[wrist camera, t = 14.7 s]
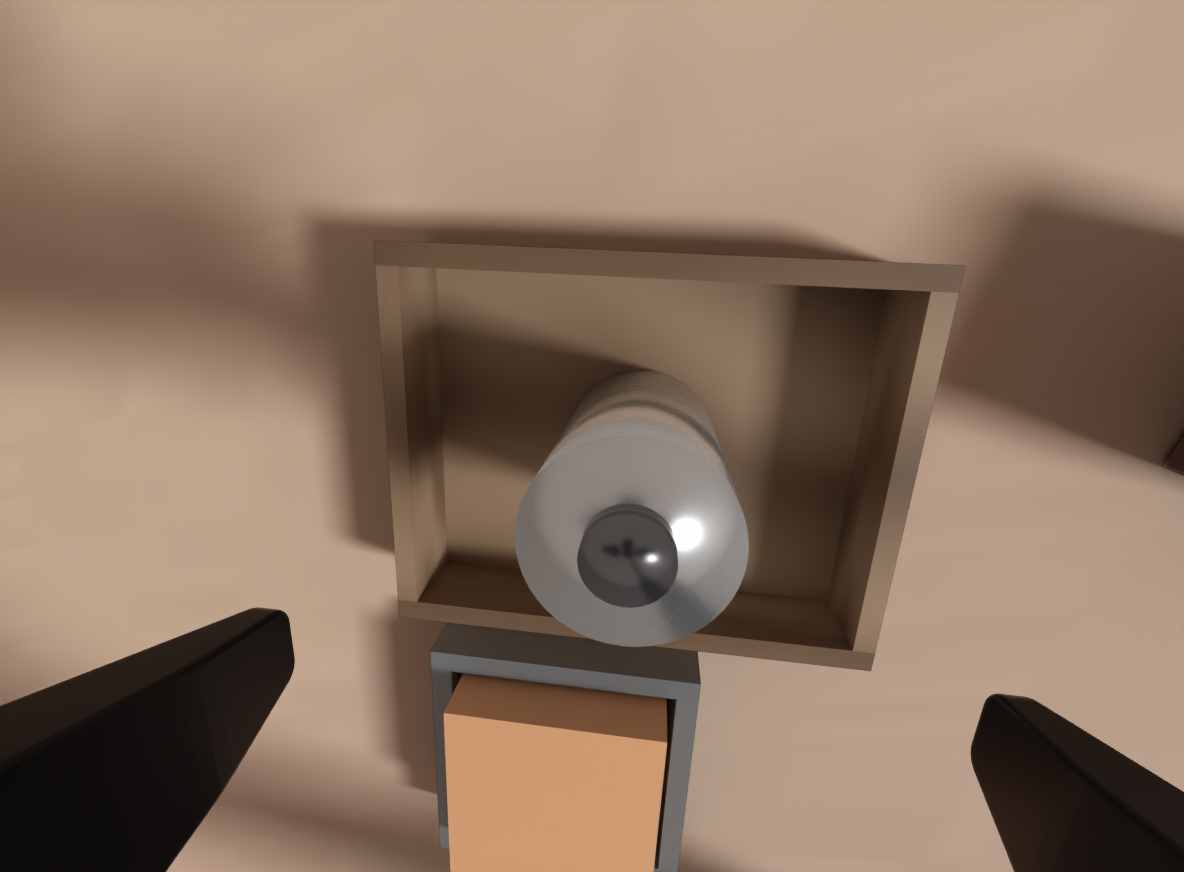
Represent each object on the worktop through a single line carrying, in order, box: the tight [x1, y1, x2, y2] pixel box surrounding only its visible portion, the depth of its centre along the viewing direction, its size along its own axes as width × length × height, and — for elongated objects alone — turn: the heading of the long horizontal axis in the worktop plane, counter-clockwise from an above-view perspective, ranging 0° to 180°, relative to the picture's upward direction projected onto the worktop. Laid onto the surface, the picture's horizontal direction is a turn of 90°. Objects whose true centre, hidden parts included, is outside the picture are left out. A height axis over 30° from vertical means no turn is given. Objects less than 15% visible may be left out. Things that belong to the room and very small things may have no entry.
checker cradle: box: [430, 622, 701, 872], centre depth 20 cm, size 9×9×2 cm
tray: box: [374, 240, 965, 671], centre depth 16 cm, size 11×14×3 cm
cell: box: [515, 370, 749, 647], centre depth 13 cm, size 4×4×8 cm
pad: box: [444, 673, 667, 872], centre depth 19 cm, size 7×7×2 cm
